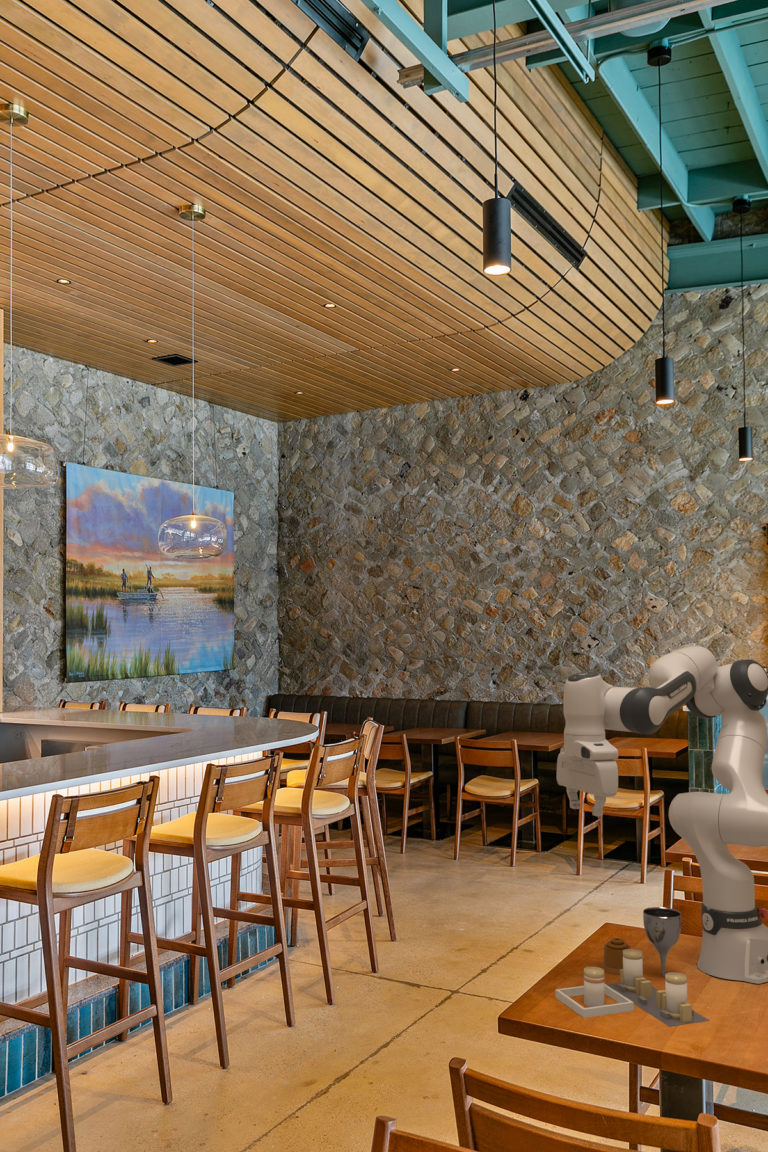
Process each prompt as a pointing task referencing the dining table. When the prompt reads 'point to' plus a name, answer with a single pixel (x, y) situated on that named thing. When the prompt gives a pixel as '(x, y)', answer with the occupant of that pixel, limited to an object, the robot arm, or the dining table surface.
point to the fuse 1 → (632, 968)
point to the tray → (622, 1006)
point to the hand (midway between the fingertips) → (586, 812)
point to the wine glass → (662, 930)
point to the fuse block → (656, 1002)
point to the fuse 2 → (675, 993)
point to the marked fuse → (594, 986)
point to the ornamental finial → (614, 956)
